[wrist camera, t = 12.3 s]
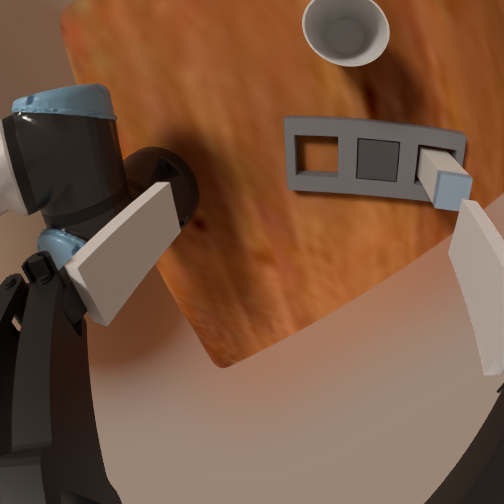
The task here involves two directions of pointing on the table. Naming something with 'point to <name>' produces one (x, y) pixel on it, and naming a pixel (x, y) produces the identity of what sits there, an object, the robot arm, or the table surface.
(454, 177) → the plug
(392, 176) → the panel
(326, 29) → the cup
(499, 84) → the table surface
